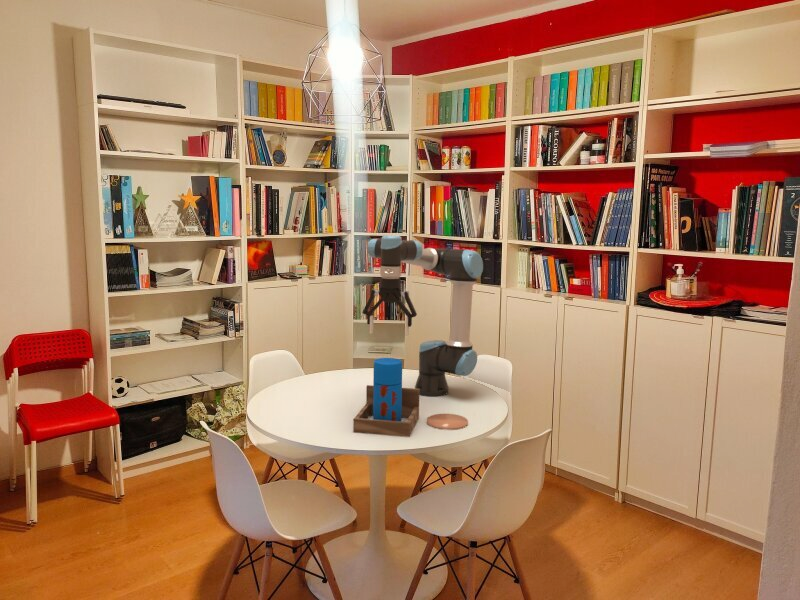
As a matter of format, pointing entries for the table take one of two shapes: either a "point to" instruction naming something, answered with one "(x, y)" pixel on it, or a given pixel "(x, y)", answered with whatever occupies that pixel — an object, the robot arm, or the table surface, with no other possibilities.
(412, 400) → the frame
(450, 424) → the terracotta disc
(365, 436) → the table surface
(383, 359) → the thermos
